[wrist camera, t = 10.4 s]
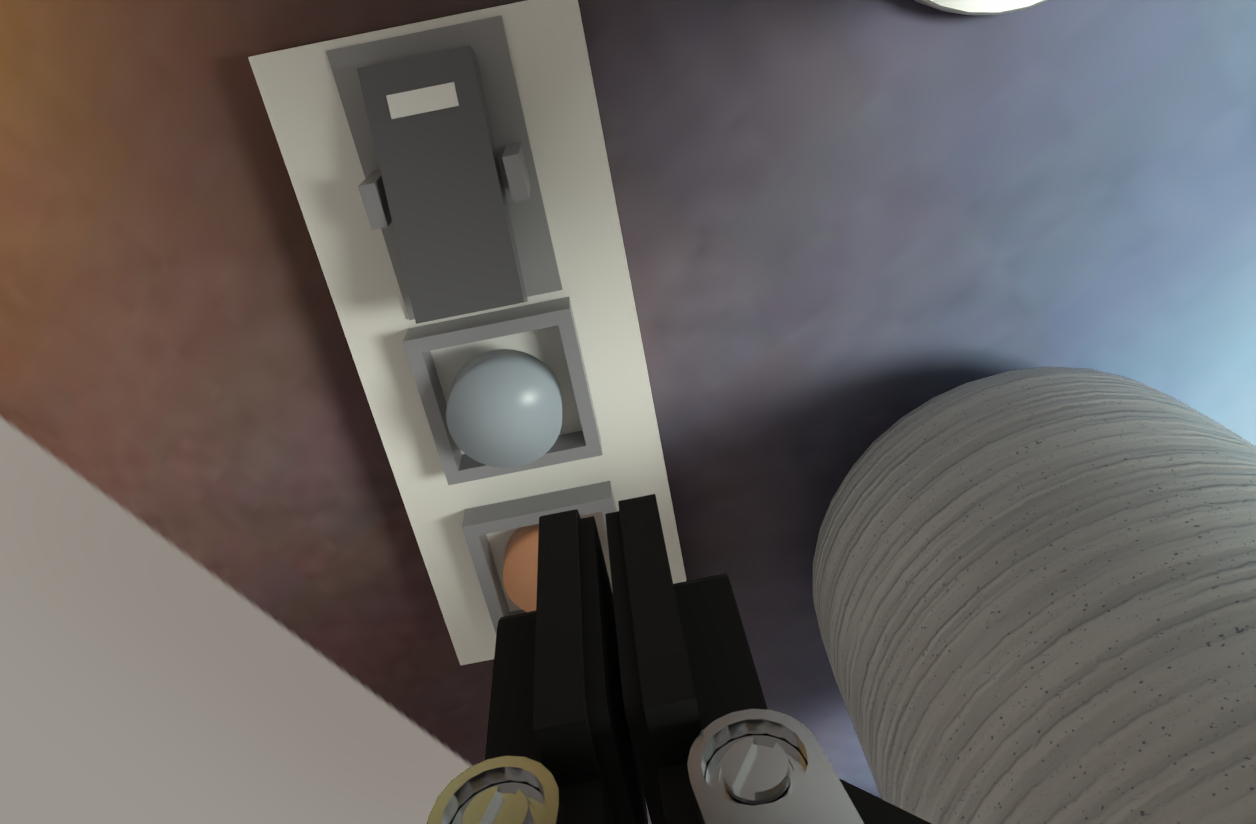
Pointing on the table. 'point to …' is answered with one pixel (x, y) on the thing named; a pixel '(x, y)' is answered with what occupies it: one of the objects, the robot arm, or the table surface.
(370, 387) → the panel
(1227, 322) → the table surface
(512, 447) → the grey button
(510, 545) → the orange button
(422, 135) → the block
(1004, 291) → the table surface
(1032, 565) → the vase
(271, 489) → the table surface
